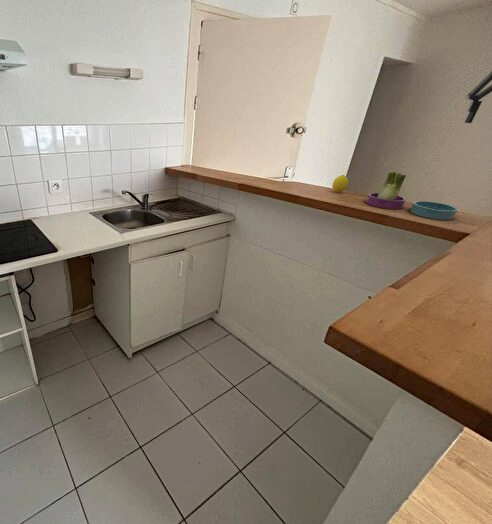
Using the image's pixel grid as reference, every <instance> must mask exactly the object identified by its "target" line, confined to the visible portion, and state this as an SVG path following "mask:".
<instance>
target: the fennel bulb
mask: <svg viewBox="0 0 492 524" xmlns="http://www.w3.org/2000/svg"><path fill="white" fill-rule="evenodd" d="M387 174H388V175H387V177H386V180H385V182H384V184H383V185H382V187H381V189H380V191H379V192H378V193H379V194H378V197H377V198H380V199H385V200H395V199H396V197H397V195H398V196H399V194H400V191H401V188H402V186H403V182H404V181H405V179H406V177H407V175H406V174H402V173H400V172H396V171H389V172H388V173H387Z"/></svg>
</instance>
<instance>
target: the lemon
mask: <svg viewBox="0 0 492 524" xmlns="http://www.w3.org/2000/svg"><path fill="white" fill-rule="evenodd" d="M348 185H349V178H348V177H347V176H346V175H345V174H341V175H338V176H337V177H335V178H334V180H333V182H332V186H331V187H332V188H331V189H332V191H334V192H335V193H337V194H339V193H342V192H344V191H346V189H347V188H348Z"/></svg>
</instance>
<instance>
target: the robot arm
mask: <svg viewBox="0 0 492 524" xmlns="http://www.w3.org/2000/svg"><path fill="white" fill-rule="evenodd" d="M491 81H492V69H491V70H490V72H489V73H488V74H487V75H486V76H485V77H484V78H483V79H482V80H481V81H480V82H479V83H478V84H477V85H476V86H475V87H474V88H473V89H472V90H471V91H470V92H469V93H468V94H467V95H465V99H466V100H469V101H470V103H469V105H468V107H467V109H466V112H467V113H468V114H467V116H466V119H465V121H464V123H465V124H472V123H473V120H474V119H475V116H476V114H477V113H478V110H479V109H480V107H481V105H482V103H483V101H482V99H483V98H484V97H486V96H487V95H489V94H491V93H492V84H490V85H489V86H487V85H488V84H489V83H490V82H491ZM486 86H487V87H486ZM485 87H486V88H485Z"/></svg>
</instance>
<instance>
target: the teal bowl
mask: <svg viewBox="0 0 492 524" xmlns="http://www.w3.org/2000/svg"><path fill="white" fill-rule="evenodd" d="M458 210H459V208H457V207H456V206H453V205H450V204H447V203H441V202H437V201H428V200H417V201H414V202H413V203H412V206H411V208H410V209H409V212H410V213H411V214H414V215H416V216H419V217H422V218H427V219H431V220H441V221H448V220H449V221H450V220H453V219H454V218H455V216H456V214H457V212H458Z"/></svg>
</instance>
